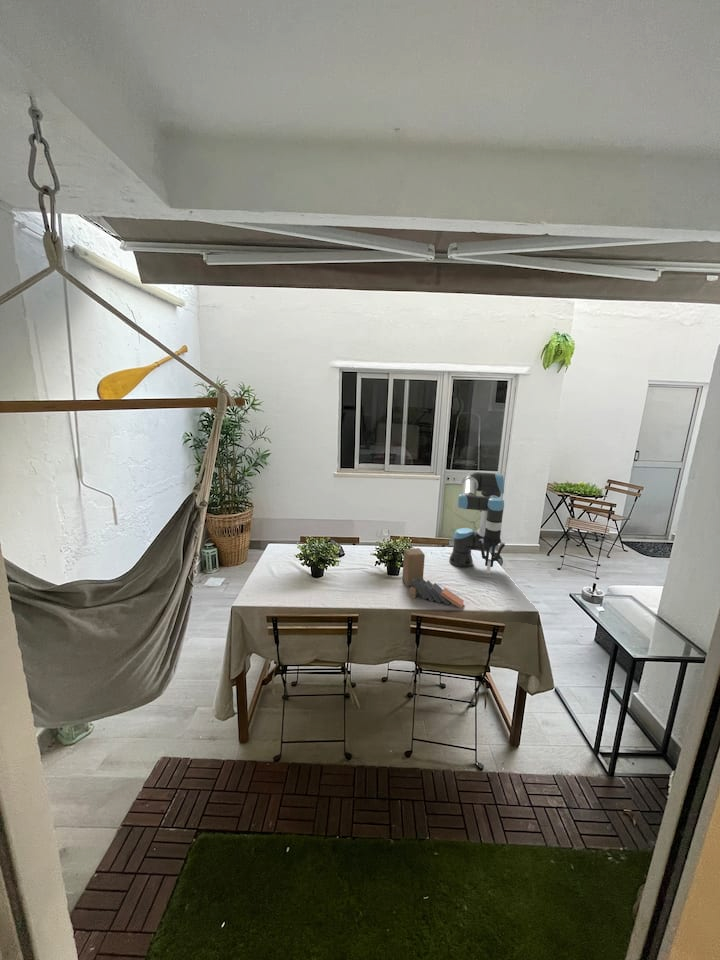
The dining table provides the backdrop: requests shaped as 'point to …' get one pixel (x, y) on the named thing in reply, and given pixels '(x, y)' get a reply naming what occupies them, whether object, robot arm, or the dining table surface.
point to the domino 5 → (452, 597)
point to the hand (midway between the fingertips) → (488, 571)
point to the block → (412, 565)
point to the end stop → (413, 592)
